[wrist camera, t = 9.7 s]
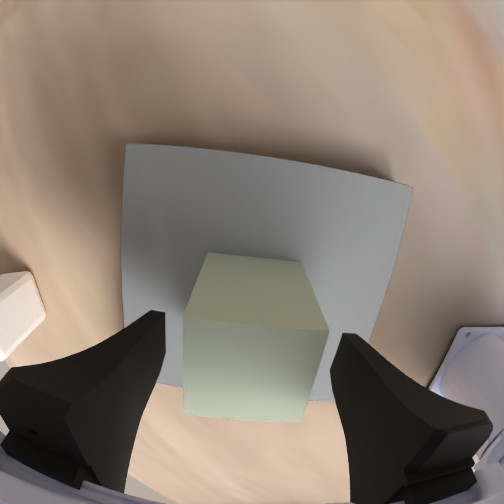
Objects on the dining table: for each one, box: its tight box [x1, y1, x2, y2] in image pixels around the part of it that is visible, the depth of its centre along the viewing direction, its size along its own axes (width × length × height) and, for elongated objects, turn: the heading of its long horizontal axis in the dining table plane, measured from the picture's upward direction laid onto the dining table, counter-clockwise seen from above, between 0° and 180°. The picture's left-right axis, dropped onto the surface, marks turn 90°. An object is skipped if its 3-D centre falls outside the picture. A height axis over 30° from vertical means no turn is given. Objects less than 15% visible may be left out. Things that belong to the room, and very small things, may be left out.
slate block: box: [121, 144, 413, 401], centre depth 17 cm, size 14×14×3 cm
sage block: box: [183, 252, 330, 423], centre depth 13 cm, size 4×4×6 cm
